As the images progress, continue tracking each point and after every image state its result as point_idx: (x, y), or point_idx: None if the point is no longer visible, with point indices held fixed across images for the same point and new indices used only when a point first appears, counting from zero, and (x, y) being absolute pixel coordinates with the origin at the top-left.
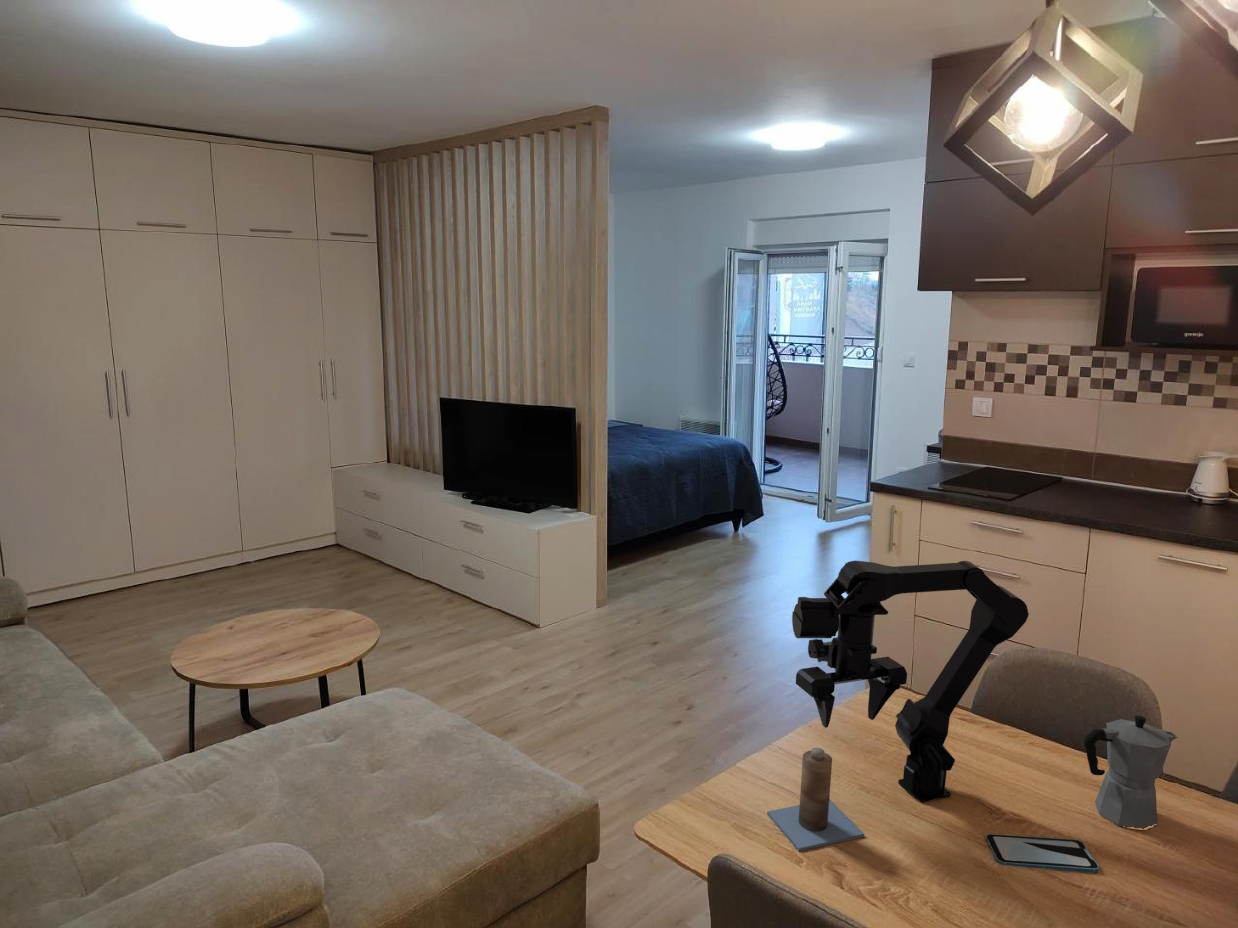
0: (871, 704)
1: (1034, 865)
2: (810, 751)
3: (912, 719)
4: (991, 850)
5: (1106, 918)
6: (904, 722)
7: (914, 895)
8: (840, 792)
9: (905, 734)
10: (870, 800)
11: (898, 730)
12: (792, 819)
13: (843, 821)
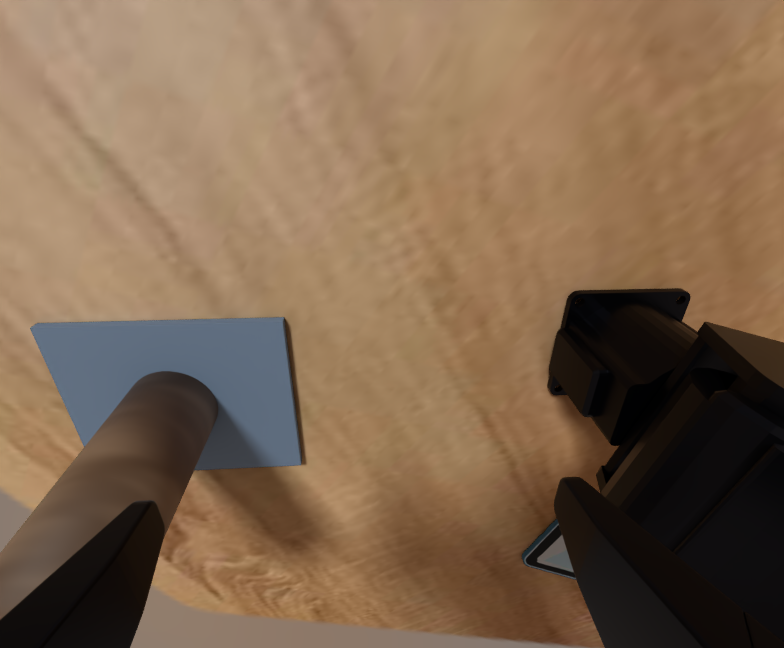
0: (628, 608)
1: (571, 577)
2: (2, 606)
3: (752, 612)
4: (540, 536)
5: (556, 644)
6: (720, 540)
7: (303, 587)
8: (349, 283)
9: (655, 515)
10: (417, 343)
11: (687, 435)
12: (113, 380)
13: (271, 417)
